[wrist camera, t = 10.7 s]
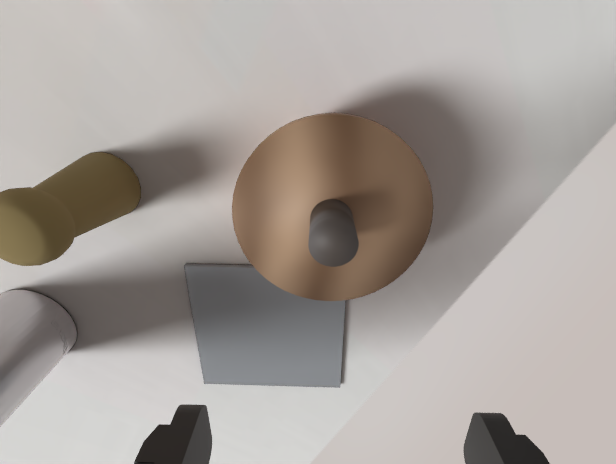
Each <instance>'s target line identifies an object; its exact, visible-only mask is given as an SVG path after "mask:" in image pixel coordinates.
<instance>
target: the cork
mask: <svg viewBox="0 0 616 464" xmlns="http://www.w3.org/2000/svg"><path fill="white" fill-rule="evenodd" d="M140 198H141V187H140V184H139V180H138V178H137V176H136V174H135V173H134V171H133V170H132V168H131V167H130V166H129V165H128V164H126V163H125V162H124V161H123V160H122V159H120V158H118V157H116V156H114V155H112V154H108V153H104V152H94V153H89V154H87V155H85V156H83V157H81V158H80V159H78V160H77V161H75V162H73V163H72V164H70V165H69V166H67V167H65V168H64V169H62V170H61V171H59V172H57V173H56V174H54V175H53V176H51V177H49V178H48V179H46V180H45V181H43V182H41V183H40V184H38V185H37V186H35V187H33V188H30V187H28V188H15V189H8V190H5V191H2V192H0V258H1V259H3V260H5V261H8V262H10V263H12V264H17V265H22V266H33V265H42V264H45V263H48V262H50V261H52V260H55V259H57V258H58V257H60V256H61V255H62V254H63V253H64V252H65V251H66V250H67V249H68V248H69V247H70V246H71V244H72V243H73V240H74V237H77V236H79V235H81V234H83V233H86V232H88V231H90V230H92V229H94V228H97V227H99V226H101V225H103V224H106V223H108V222H110V221H112V220H115V219H117V218H119V217H121V216H123V215H126V214H128V213H130V212H132V211H133V210H134V209H135V208H136V207H137V205H138V203H139V200H140Z"/></svg>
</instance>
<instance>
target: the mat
mask: <svg viewBox="0 0 616 464" xmlns="http://www.w3.org/2000/svg"><path fill="white" fill-rule="evenodd" d="M184 268H185V274H186V280H187V286H188V292H189V298H190V303H191V309H192V315H193V321H194V327H195V333H196V339H197V344H198V350H199V356H200V362H201V368H202V374H203V379H204V384H233V385H268V386H303V387H338V388H340V382H341V365H342V349H343V332H344V316H345V300H342V301H320V300H313V299H307V298H303V297H300V296H297V295H294V294H291V293H289V292H287V291H284V290H283V289H281V288H279V287H277V286H276V285H274V284H273V283H271V282H270V281H268V280H267V279H266V278H265V277H263V276H262V275H261V274H260V273H259V272H258V271H257V270H256V269H255V268H254V266H253V265H226V264H185V266H184Z"/></svg>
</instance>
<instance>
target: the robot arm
mask: <svg viewBox="0 0 616 464" xmlns="http://www.w3.org/2000/svg"><path fill="white" fill-rule="evenodd" d="M76 338H77V331H76V327H75V324H74V322H73V320H72V318H71V317H70V315H69V314H68V313H67V311H66V310H65V309H63V308H62V307H61V306H60V305H59V304H58V303H56V302H55V301H53V300H52V299H50V298H48V297H46V296H44V295H42V294H39V293H36V292H33V291H27V290H11V291H6V292H4V293H2V294H0V427H1V425H2V424H3V423H4V422H5V421H6V420H7V419H8V418H9V417H10V415H11V414H12V413H13V412H14V411H15V410H16V409H17V408H18V407H19V405H20V404H21V403H22V402H23V401H24V400H25V399H26V398H27V397H28V396H29V394H30V393H31V392H32V391H33V390H34V389H35V388H36V387H37V386H38V384H39V383H40V382H41V381H42V380H43V379H44V378H45V377H46V376H47V375H48V373H49V372H50V371H51V370H52V369H53V368H54V367H55V366H56V365H57V363H58V362H59V361H60V360H61V359H62V358H63V357H64V356H65V355H66V353H67V352H68V351H69V350H70V349H71V348H72V347H73V345H74V344H75V341H76ZM211 449H212V435H211V429H210V423H209V417H208V412H207V407H206V405H180V406H179V407H178V408H177V410H176V412H175V415H174V417H173V420H172V422H171V424H170V425H158V426H157V427H156V429H155V430H154V431H153V432H152V433H151V434H150V435H149V436H148V438H147V439H146V440H145V441H144V442H143V445H142V447H141V449H140V451H139V453H138V455H137V457H136V459H135V462H134V464H209V460H210V456H211ZM464 458H465V463H466V464H549V462H548V460H547V459H546V457H545V456H544V454H543V452H541V450H540V449H539V448H538V447H537V446H535V445H534V443H533V442H532V441H531V440H530V439H529V438H528V437H527V436H526V435H516V434H515V432H514V430H513V428H512V427H511V425H510V423H509V421H508V420H507V418H506V417H505V416H504V415H503V414H501V413H474V414H473V416H472V419H471V423H470V426H469V430H468V433H467V436H466V440H465V444H464Z"/></svg>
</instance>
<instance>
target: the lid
mask: <svg viewBox="0 0 616 464" xmlns="http://www.w3.org/2000/svg"><path fill="white" fill-rule="evenodd" d="M432 215H433V197H432V191H431V186H430V182H429V179H428V176H427V174H426V171H425V169H424V167H423V165H422V163H421V162H420V160H419V158H418V157H417V156H416V154H415V153H414V152H413V150H412V149H411V148H410V147H409V146H408V145H407V144H406V143H405V142H404V141H403V140H402V139H401V138H400V137H399V136H397V135H396V134H395V133H393V132H392V131H390V130H389V129H388V128H386V127H384V126H382V125H380V124H379V123H377V122H375V121H372V120H369V119H366V118H364V117H360V116H356V115H351V114H343V113H325V114H316V115H312V116H307V117H303V118H301V119H298V120H295V121H292V122H290V123H288V124H287V125H285V126H283V127H281V128H279V129H278V130H276V131H275V132H274V133H272V134H271V135H269V136H268V137H267V138H266V139H265V140H264V141H263V142H262V143H261V144H260V145H259V146H258V147H257V148H256V149H255V151H254V152H253V153H252V154H251V156H250V157H249V158H248V160H247V161H246V163H245V165H244V167H243V168H242V170H241V172H240V175H239V177H238V180H237V182H236V186H235V190H234V194H233V203H232V217H233V224H234V230H235V233H236V236H237V239H238V242H239V244H240V246H241V248H242V250H243V252H244V254H245V256H246V257H247V259H248V260H249V262H250V263H251V264H252V265H253V266H254V268H255V269H256V270H257V271H258V272H259V273H260V274H261V275H262V276H263V277H265V278H266V279H267V280H268V281H270V282H271V283H273V284H274V285H276V286H277V287H279V288H281V289H283V290H284V291H287V292H289V293H291V294H294V295H297V296H300V297H303V298H307V299H313V300H320V301H342V300H349V299H354V298H358V297H362V296H365V295H368V294H371V293H373V292H376V291H377V290H379V289H381V288H383V287H385V286H387V285H388V284H390V283H391V282H393V281H394V280H396V279H397V278H398V277H399V276H400V275H402V274H403V273H404V272H405V271H406V270H407V269H408V268H409V266H410V265H411V264H412V263H413V262H414V260H415V259H416V258H417V256H418V255H419V253H420V251H421V250H422V248H423V246H424V244H425V242H426V239H427V237H428V234H429V231H430V227H431V222H432Z"/></svg>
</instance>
